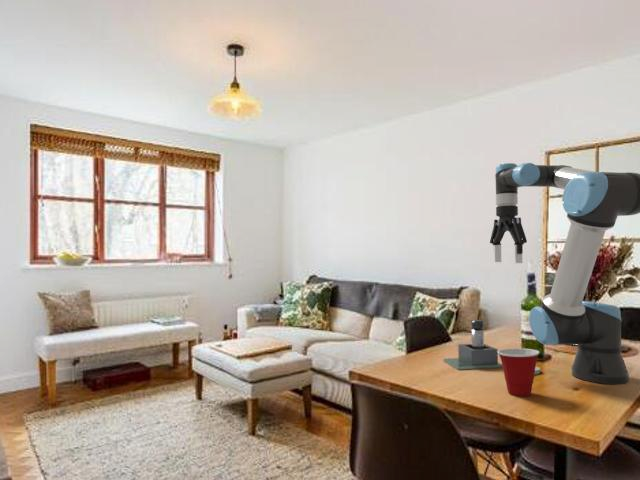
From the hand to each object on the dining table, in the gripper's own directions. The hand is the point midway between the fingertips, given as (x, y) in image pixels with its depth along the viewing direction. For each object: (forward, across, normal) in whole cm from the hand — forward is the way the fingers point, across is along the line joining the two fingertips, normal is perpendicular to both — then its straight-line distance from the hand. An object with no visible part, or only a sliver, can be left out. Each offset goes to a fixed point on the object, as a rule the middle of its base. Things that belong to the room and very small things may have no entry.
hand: (507, 262), depth 169 cm
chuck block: (+35, -9, +19) cm, 40 cm away
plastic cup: (+35, -40, +22) cm, 57 cm away
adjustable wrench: (+35, -26, +12) cm, 46 cm away
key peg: (+34, -8, +17) cm, 39 cm away
